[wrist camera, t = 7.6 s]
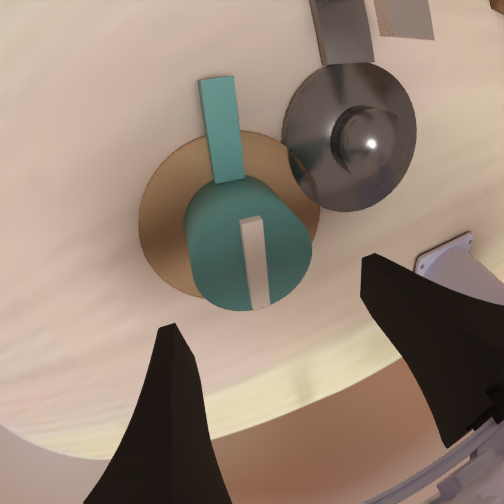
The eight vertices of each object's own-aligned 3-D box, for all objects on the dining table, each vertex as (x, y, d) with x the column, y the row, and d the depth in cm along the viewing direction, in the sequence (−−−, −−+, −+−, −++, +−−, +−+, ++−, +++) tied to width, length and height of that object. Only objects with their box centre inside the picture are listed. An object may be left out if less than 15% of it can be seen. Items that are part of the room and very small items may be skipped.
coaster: (320, 263, 20) (325, 268, 19) (176, 312, 19) (177, 319, 18) (303, 111, 14) (308, 113, 14) (110, 168, 13) (109, 171, 13)
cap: (282, 250, 18) (314, 299, 14) (194, 272, 17) (207, 328, 13) (269, 72, 12) (312, 71, 9) (155, 89, 11) (150, 91, 8)
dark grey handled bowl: (409, 189, 19) (465, 226, 14) (294, 225, 18) (340, 281, 13) (392, -14, 11) (462, -23, 6) (246, -21, 10) (291, -63, 5)
